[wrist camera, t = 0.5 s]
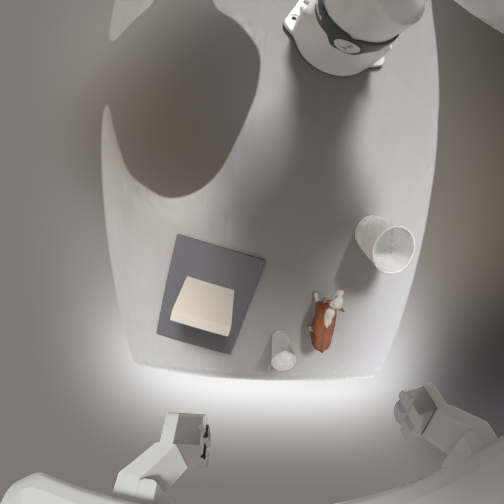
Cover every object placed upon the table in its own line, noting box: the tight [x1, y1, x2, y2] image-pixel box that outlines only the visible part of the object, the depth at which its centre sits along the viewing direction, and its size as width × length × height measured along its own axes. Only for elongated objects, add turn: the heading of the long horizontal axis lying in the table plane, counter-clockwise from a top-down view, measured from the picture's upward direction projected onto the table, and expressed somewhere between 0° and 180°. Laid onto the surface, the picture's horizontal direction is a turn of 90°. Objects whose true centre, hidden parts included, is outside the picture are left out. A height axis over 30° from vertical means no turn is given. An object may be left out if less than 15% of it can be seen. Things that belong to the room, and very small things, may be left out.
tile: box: [170, 276, 234, 336], centre depth 47 cm, size 2×9×12 cm, turn 72°
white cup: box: [355, 215, 415, 274], centre depth 46 cm, size 8×8×10 cm
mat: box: [157, 234, 265, 354], centre depth 54 cm, size 22×16×1 cm
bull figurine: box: [308, 289, 344, 353], centre depth 51 cm, size 4×13×8 cm, turn 173°
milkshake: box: [268, 330, 296, 371], centre depth 53 cm, size 4×5×10 cm
